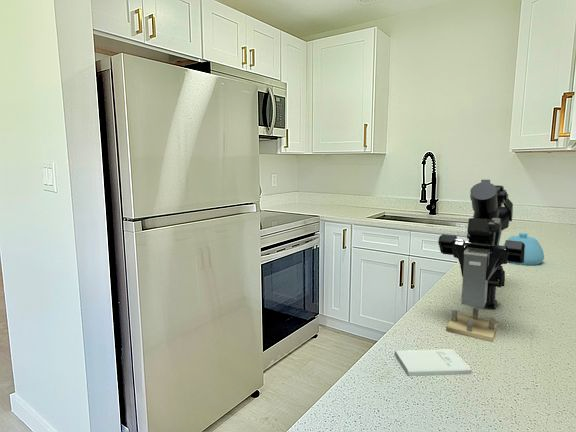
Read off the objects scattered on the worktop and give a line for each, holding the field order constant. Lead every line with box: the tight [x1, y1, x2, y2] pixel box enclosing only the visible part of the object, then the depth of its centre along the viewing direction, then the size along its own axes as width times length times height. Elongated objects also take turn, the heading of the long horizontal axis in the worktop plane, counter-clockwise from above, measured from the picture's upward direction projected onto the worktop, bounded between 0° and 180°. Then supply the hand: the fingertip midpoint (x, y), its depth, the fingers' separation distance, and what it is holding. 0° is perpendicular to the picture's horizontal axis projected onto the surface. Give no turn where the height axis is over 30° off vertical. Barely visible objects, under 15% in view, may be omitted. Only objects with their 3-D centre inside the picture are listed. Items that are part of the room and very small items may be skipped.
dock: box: [445, 307, 499, 342], centre depth 91 cm, size 10×10×4 cm
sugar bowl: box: [502, 232, 545, 266], centre depth 150 cm, size 15×15×12 cm
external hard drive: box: [394, 348, 473, 377], centre depth 76 cm, size 2×8×12 cm
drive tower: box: [460, 247, 490, 309], centre depth 89 cm, size 5×5×13 cm
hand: (474, 277), depth 88 cm, fingers closed on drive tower, 5 cm apart
